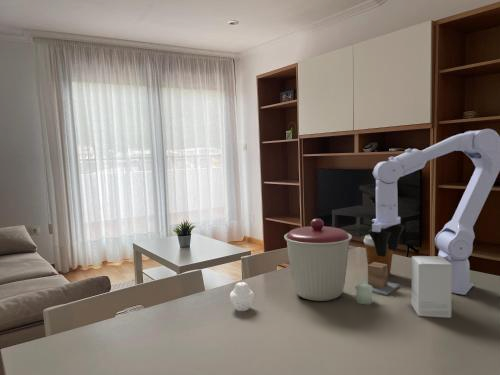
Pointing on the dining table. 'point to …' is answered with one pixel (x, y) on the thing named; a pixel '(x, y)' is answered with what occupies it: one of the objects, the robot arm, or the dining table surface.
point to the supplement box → (431, 286)
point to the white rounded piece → (241, 296)
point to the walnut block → (377, 275)
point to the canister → (318, 260)
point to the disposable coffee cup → (373, 256)
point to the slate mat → (386, 289)
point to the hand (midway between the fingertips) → (387, 252)
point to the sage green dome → (364, 294)
